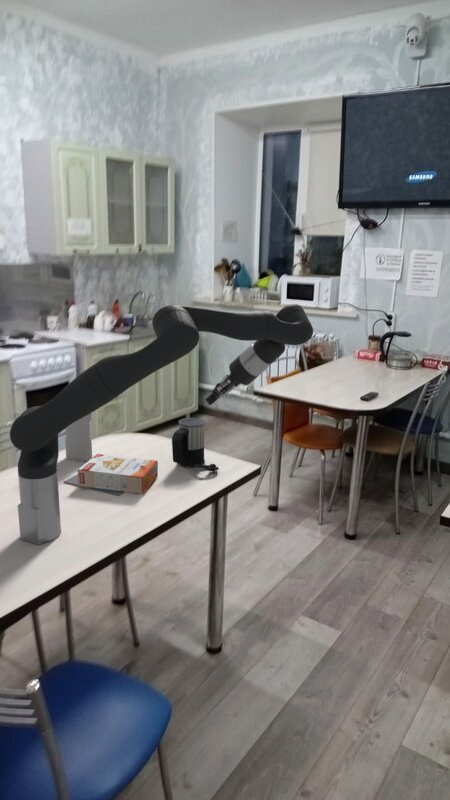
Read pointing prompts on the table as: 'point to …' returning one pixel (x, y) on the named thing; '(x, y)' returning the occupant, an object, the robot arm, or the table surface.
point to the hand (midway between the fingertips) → (208, 401)
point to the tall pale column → (79, 440)
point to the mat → (74, 481)
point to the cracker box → (118, 473)
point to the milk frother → (190, 444)
